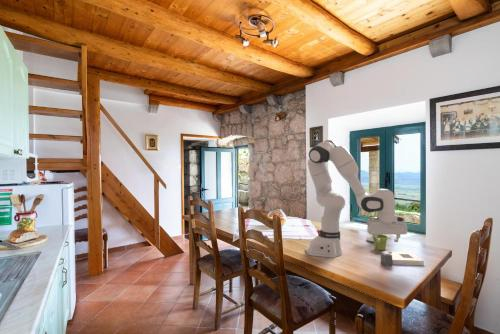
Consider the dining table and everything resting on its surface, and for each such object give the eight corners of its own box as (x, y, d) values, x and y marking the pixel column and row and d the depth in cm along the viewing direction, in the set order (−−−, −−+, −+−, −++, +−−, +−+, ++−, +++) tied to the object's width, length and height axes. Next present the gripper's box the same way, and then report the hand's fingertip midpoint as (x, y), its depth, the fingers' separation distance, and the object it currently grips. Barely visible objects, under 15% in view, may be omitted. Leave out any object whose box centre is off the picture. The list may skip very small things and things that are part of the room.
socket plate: (393, 264, 137) (393, 258, 137) (382, 255, 151) (382, 250, 151) (423, 265, 135) (423, 259, 135) (410, 256, 149) (410, 251, 149)
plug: (384, 265, 136) (384, 254, 136) (380, 262, 141) (380, 251, 141) (392, 266, 135) (392, 254, 135) (388, 262, 140) (388, 251, 140)
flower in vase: (379, 239, 184) (379, 206, 184) (386, 244, 173) (386, 208, 173) (361, 239, 186) (361, 206, 186) (367, 243, 174) (366, 208, 174)
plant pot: (379, 252, 157) (379, 238, 157) (369, 247, 166) (368, 234, 166) (391, 250, 159) (391, 237, 160) (380, 246, 169) (380, 233, 169)
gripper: (368, 219, 136) (369, 243, 136) (408, 218, 133) (409, 243, 133) (365, 216, 142) (366, 240, 142) (402, 216, 139) (403, 240, 139)
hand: (387, 242), depth 138 cm, fingers open, 8 cm apart
